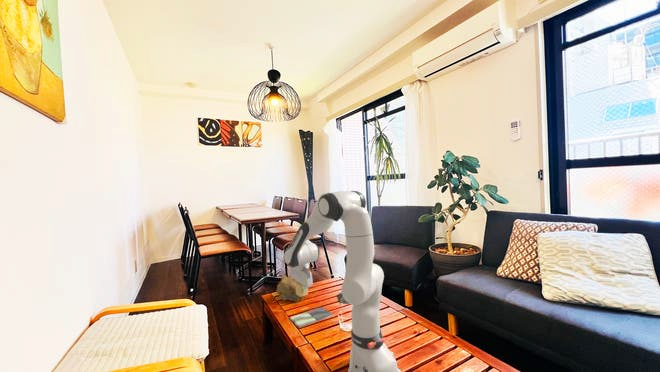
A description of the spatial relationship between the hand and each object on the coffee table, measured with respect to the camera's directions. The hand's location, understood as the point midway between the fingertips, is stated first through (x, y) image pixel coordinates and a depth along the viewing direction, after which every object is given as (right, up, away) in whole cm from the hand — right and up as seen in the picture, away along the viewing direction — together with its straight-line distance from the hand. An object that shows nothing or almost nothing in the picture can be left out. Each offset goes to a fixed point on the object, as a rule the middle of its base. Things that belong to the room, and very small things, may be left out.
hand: (301, 290), depth 146 cm
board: (+5, -16, +3) cm, 17 cm away
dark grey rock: (+28, -16, +27) cm, 42 cm away
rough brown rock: (-7, -17, +29) cm, 34 cm away
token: (0, -2, 0) cm, 2 cm away
